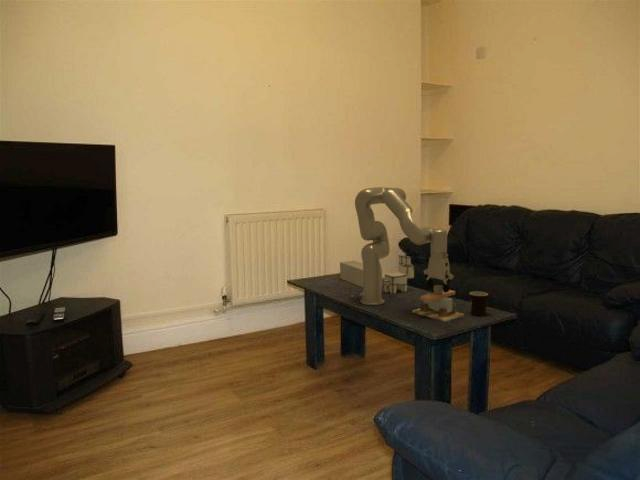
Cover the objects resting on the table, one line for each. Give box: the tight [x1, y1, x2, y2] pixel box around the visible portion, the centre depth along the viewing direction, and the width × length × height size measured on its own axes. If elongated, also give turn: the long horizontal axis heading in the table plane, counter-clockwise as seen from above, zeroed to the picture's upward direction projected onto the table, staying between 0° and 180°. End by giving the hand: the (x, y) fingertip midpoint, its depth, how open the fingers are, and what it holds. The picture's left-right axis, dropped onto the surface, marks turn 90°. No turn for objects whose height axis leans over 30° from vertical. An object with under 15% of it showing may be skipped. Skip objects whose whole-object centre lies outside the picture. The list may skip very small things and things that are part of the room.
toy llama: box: [383, 254, 415, 295], centre depth 290 cm, size 8×18×20 cm, turn 119°
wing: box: [419, 284, 456, 302], centre depth 246 cm, size 5×20×7 cm, turn 128°
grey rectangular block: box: [339, 260, 383, 288], centre depth 315 cm, size 32×11×11 cm, turn 27°
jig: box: [411, 302, 465, 323], centre depth 247 cm, size 20×14×4 cm
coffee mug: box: [469, 290, 489, 317], centre depth 247 cm, size 12×9×10 cm
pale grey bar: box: [423, 293, 453, 313], centre depth 247 cm, size 14×4×6 cm, turn 39°
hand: (438, 290), depth 246 cm, fingers open, 9 cm apart
